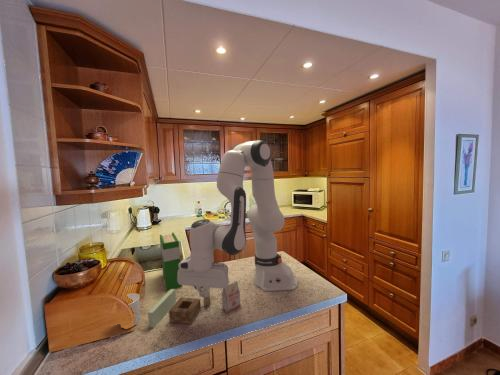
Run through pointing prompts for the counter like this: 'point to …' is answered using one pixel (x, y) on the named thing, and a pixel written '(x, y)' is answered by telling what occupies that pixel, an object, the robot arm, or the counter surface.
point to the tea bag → (231, 296)
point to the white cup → (135, 306)
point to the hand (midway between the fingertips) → (203, 296)
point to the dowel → (207, 298)
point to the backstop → (161, 308)
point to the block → (185, 310)
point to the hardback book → (170, 260)
